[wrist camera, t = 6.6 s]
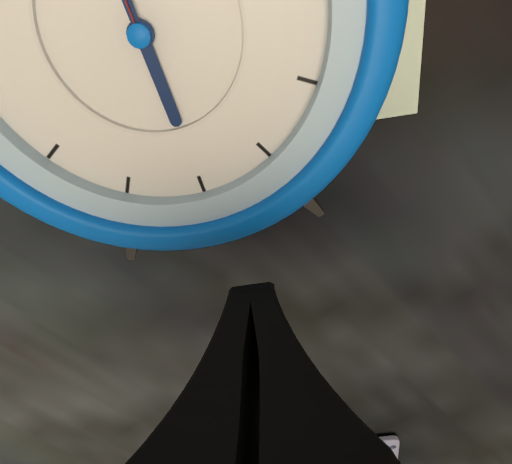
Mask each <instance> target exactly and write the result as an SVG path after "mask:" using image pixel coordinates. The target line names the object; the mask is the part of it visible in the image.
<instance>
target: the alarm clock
mask: <svg viewBox="0 0 512 464" xmlns="http://www.w3.org/2000/svg"><path fill="white" fill-rule="evenodd" d="M408 5H409V0H0V198H2V199H3V200H5V201H7V202H8V203H10V204H12V205H13V206H15V207H17V208H18V209H20V210H22V211H23V212H25V213H27V214H29V215H31V216H33V217H35V218H37V219H39V220H41V221H42V222H44V223H47V224H49V225H51V226H54V227H56V228H58V229H61V230H63V231H66V232H68V233H71V234H74V235H77V236H80V237H83V238H86V239H89V240H93V241H97V242H100V243H104V244H109V245H114V246H119V247H124V248H125V249H126V255H127V260H129V261H134V260H135V256H136V252H137V249H141V250H157V251H172V250H188V249H197V248H204V247H209V246H215V245H220V244H223V243H227V242H230V241H234V240H238V239H240V238H243V237H246V236H249V235H251V234H254V233H257V232H259V231H261V230H263V229H265V228H267V227H269V226H271V225H274V224H275V223H277V222H279V221H281V220H282V219H284V218H286V217H288V216H289V215H291V214H292V213H294V212H295V211H297V210H298V209H299V208H301V207H302V206H303V207H305V208H306V209H308V210H309V211H311V212H312V213H314V214H315V215H316V216H318V217H320V216H322V215H323V214H324V210H323V208H322V207H321V205H320V204H319V203H318V201H317V200H316V198H315V196H316V195H317V194H319V193H320V192H321V191H322V190H323V189H324V188H325V187H326V186H327V185H328V184H329V183H330V182H331V181H332V180H333V179H334V178H335V177H336V176H337V175H338V174H339V173H340V172H341V170H342V169H343V168H344V167H345V166H346V164H347V163H348V162H349V161H350V160H351V158H352V157H353V155H354V154H355V153H356V151H357V150H358V148H359V147H360V145H361V144H362V142H363V141H364V140H365V138H366V136H367V134H368V133H369V131H370V129H371V127H372V126H373V124H374V122H375V120H376V118H377V116H378V114H379V112H380V110H381V108H382V105H383V103H384V101H385V99H386V97H387V94H388V91H389V88H390V86H391V83H392V80H393V77H394V74H395V72H396V68H397V64H398V60H399V56H400V53H401V49H402V45H403V40H404V34H405V28H406V22H407V16H408Z"/></svg>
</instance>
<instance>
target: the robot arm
mask: <svg viewBox="0 0 512 464" xmlns="http://www.w3.org/2000/svg"><path fill="white" fill-rule="evenodd" d="M399 443H400V442H399V439H398V437H397V436H394V435H391V436H382V437H378V436H377V435H376V434H375V433H374V432H373V431H372V430H371V429H370V428H369V427H368V426H367V425H366V424H365V423H364V422H363V421H362V420H361V419H360V418H359V417H358V416H357V415H356V414H355V413H354V412H353V411H352V410H351V409H350V408H349V407H348V406H347V404H346V403H345V402H344V401H343V400H342V399H341V398H340V397H339V395H338V394H337V393H336V392H335V391H334V390H333V389H332V387H331V386H330V385H329V384H328V382H327V381H326V380H325V379H324V377H323V376H322V375H321V374H320V372H319V371H318V369H317V368H316V367H315V365H314V364H313V363H312V361H311V360H310V358H309V357H308V355H307V354H306V352H305V351H304V349H303V348H302V346H301V344H300V343H299V341H298V340H297V338H296V336H295V334H294V333H293V331H292V329H291V327H290V325H289V323H288V321H287V320H286V318H285V316H284V313H283V311H282V309H281V307H280V304H279V302H278V299H277V296H276V293H275V289H274V284H272V283H271V282H266V283H258V284H251V285H244V286H236V287H232V288H231V289H230V290H229V294H228V298H227V301H226V304H225V307H224V310H223V313H222V315H221V318H220V320H219V323H218V325H217V327H216V330H215V332H214V334H213V337H212V339H211V341H210V343H209V345H208V347H207V349H206V351H205V353H204V355H203V357H202V359H201V361H200V363H199V365H198V366H197V368H196V370H195V372H194V373H193V375H192V377H191V379H190V380H189V382H188V383H187V385H186V387H185V388H184V390H183V391H182V393H181V394H180V396H179V397H178V399H177V400H176V402H175V403H174V404H173V406H172V407H171V409H170V410H169V412H168V413H167V414H166V416H165V417H164V418H163V420H162V421H161V422H160V423H159V425H158V426H157V427H156V428H155V430H154V431H153V432H152V433H151V434H150V436H149V437H148V438H147V439H146V441H145V442H144V443H143V444H142V446H141V447H140V448H139V449H138V450H137V451H136V452H135V453H134V455H133V456H132V457H131V458H130V459H129V460H128V461H127V462H126V463H125V464H400V462H399V460H398V454H399Z"/></svg>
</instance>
